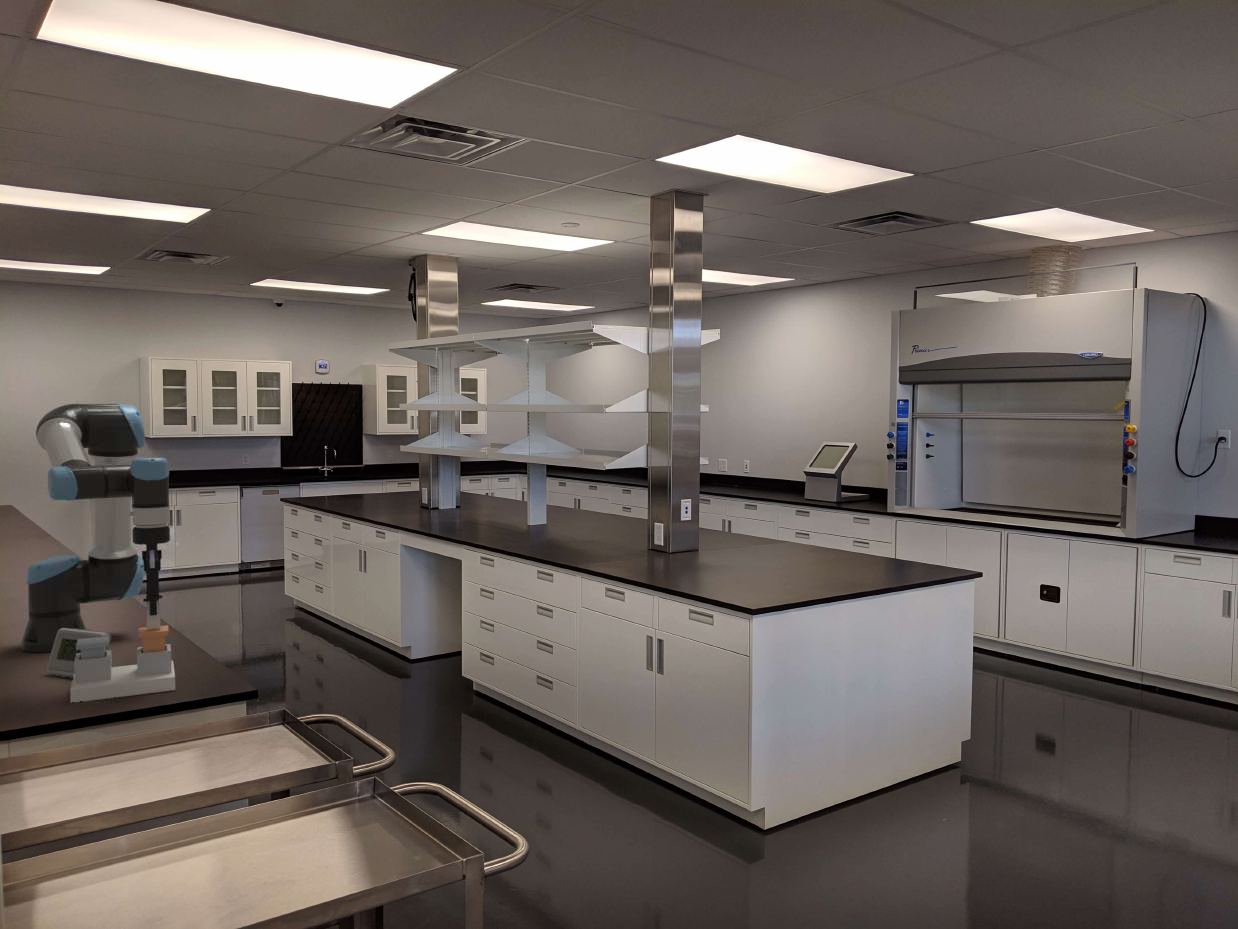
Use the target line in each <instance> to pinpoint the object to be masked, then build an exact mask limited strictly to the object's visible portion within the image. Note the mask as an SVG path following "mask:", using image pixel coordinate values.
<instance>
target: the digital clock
mask: <svg viewBox="0 0 1238 929" xmlns="http://www.w3.org/2000/svg"><path fill="white" fill-rule="evenodd" d="M107 636H109V644H108V647H105V651H107V650H110V649H109V647H110V644H111V640H112V635H111V634H110V633H107V632H104V631H103V632H102V631H99V630H89V629H87V630H83V629H69V628H61V629H60V630H58V632H57V635H56V638H55V641H54V645H53V648H52V651H51V652H50V655H49V659H48V662H47V667H46V673H47V674H48V675H52V676H57V677H58V676H62V677H61V678H65V677H69V678H68V679H72V678H74V674H75V668H74V660H75V657H76V654H78V653H81V649H80V650H76V644H77V641H78V639H86V638H96V637H107Z"/></svg>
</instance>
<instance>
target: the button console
mask: <svg viewBox="0 0 1238 929" xmlns="http://www.w3.org/2000/svg"><path fill="white" fill-rule="evenodd" d="M136 649H137V651H136V660H137V661H136V662H137V663H136V664H130V665H129V664H128V665H122V666H120V665H119V666H113V664H112V663H113V662H112V658H113V657H112V649H108V650H107V651H105V657H99V658H90V659H81V653H78V654H76V657H75V660H74V668H75V674H74V678H73V679H72V682H71V686H70V692H69V693H70V704H73V703H72V702H75V703H81V702H80V701H83V702H90V701H96V700H104V699H105V700H106V698H107V699H114V697H115V698H121V697H129V696H137V695H138V696H139V695H147V694H153V693H162V692H163V693H164V692H169V691H170V692H171V691H176V673H175V665H174V660H172V647H171V644H170V643H168V644H166V643H165V651H156V652H147V653H143V646H138V647H137V648H136Z"/></svg>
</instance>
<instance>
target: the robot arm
mask: <svg viewBox="0 0 1238 929" xmlns="http://www.w3.org/2000/svg"><path fill="white" fill-rule="evenodd" d="M145 435H146V434H145V427H144V423H143V419H142V416H141V413H140V411H139V409H138V408H137V407H136V406H135V405H133V404H121V403H67V404H64V405H60V406H58V407H56V408H54V409H52V410H50V411H49V412H48V413H45V415H44V416H42V418H41V419H40V420H39V421H38V423H37V426H36V429H35V437H36V440H37V443H38V445H39V446H40V447H41V449H43V450H44V451H45V452H46V453H47V456H48V459H49V462H50V464H51V466H52V467H50V468H49V469H48V472H47V490H48V495H49V497H50V498H51V499H52V500H53V501H77V500H78V501H79V500H94V546H93V548H92V549H91V550H89V551H88V556H87V558H88V559H83V560H82V559H81V560H80V557H79V556H78V555H77V554H76V555H75V554H74V555H73V554H71V555H62V556H61V555H60V556H56V557H49V558H46V559H42V560H38V561H36V562H33V563H32V564H30V566H29V567H28V569H27V580H26V584H27V592H28V594H27V595H28V597H27V598H28V600H27V602H28V606H27V607H28V620H27V624H26V626H25V629H24V634H23V636H22V638H21V650H22V651H23V652H27V653H51V651H52V648H53V645H54V641H55V638H56V635H57V632H58V630H60V629H61V628H69V629H83V630H88V629H87V627H86V624H85V622H84V620H83V617H82V615H81V605H83V604H91V603H92V604H93V603H100V602H109V601H121V600H127V599H130V598H135V597H136V596H138V594H139V593H140V592H141V588H142V586H143V582H144V575H146V578H145V579H146V592H145V594H146V595H145V598H142V601H143V603H144V602H145V603H146V604H145V606H146V608H145V609H146V627H147V630H151V629H160V626H161V600H160V599H163V594H161V595H160V582H159V580H160V579H159V575H160V574H159V573H160V571H161V568H162V567H161V560H162V559H163V555H162V549H159V548H158V544H166V543H169V542H170V540H171V527H170V526H169V525H168V524H169V523H170V522H171V519H170V518H171V517H170V516H171V515H170V514H171V510H170V509H171V508H170V497H169V496H170V492H169V491H170V488H169V486H170V484H169V482H170V481H169V480H170V476H169V475H170V471H169V463H168V459H167V458H165V457H153V456H152V457H137V456H138V452H139V451H138V450H139V449H141V448H144V446H145V445H146V443H145V442H146V436H145ZM85 449H87V453H86V451H85ZM88 456H89V457H90V458H91V459H92V460H93V461H94V465H92V464H91V461H90V460H89V459H90V458H89V457H88ZM132 525H133V526H134V527H133V528H132ZM131 534H132V535H131ZM131 536H132V538H131ZM131 542H133V544H134V545H140V546H141V545H142V546H143V545H145V548H146V549H145V550H142V551H141V555H140V554H138V550H137V549H136V548H135V547H133V546H132V544H131ZM145 573H146V574H145Z"/></svg>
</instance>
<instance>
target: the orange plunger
mask: <svg viewBox="0 0 1238 929" xmlns="http://www.w3.org/2000/svg"><path fill="white" fill-rule="evenodd" d="M169 635H170V630H169V625H168V624H167V625H160V629H151V630H147V626H146V627H139V628H138V639H142V647H143V653H147V652H156V651H165V644H166V642H165V641H166V636H169Z"/></svg>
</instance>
